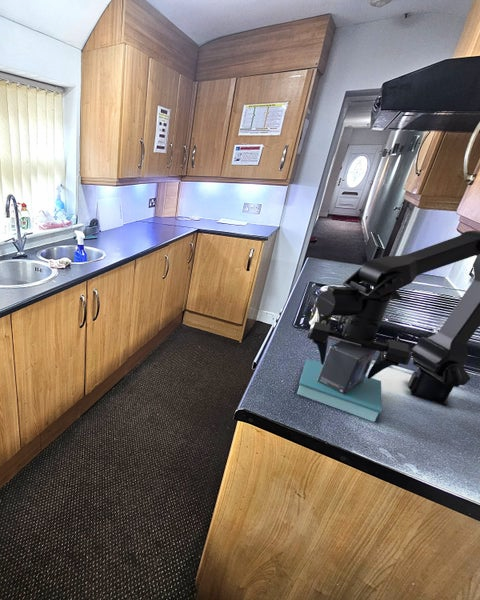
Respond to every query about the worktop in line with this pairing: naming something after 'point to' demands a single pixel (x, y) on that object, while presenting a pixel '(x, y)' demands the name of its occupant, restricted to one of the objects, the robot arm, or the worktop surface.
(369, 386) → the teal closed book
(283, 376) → the worktop surface
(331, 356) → the small box
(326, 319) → the beverage can
